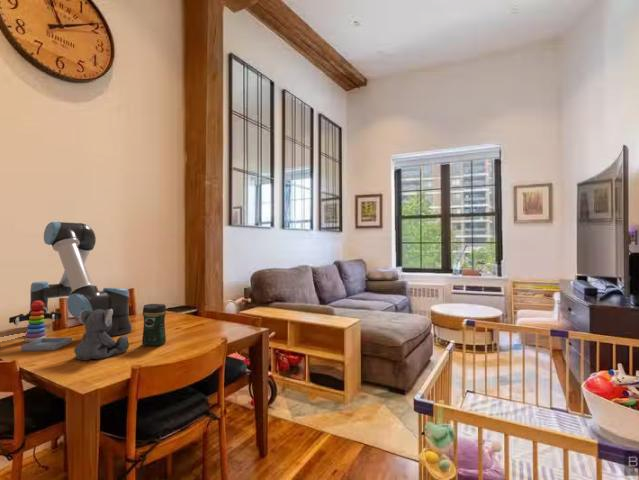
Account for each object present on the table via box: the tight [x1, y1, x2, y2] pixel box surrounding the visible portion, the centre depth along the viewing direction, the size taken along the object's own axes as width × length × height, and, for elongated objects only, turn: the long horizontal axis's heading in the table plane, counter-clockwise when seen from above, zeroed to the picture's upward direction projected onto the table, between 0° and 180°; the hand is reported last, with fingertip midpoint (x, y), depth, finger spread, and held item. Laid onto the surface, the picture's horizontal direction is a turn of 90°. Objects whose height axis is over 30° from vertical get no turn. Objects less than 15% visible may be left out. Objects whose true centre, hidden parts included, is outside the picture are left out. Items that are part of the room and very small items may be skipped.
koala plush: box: [73, 309, 130, 361], centre depth 147 cm, size 17×18×20 cm
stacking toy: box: [24, 300, 47, 343], centre depth 167 cm, size 8×8×19 cm
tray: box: [20, 337, 73, 352], centre depth 158 cm, size 13×13×2 cm
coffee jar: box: [141, 303, 167, 347], centre depth 164 cm, size 10×8×19 cm
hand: (35, 320), depth 169 cm, fingers open, 13 cm apart
